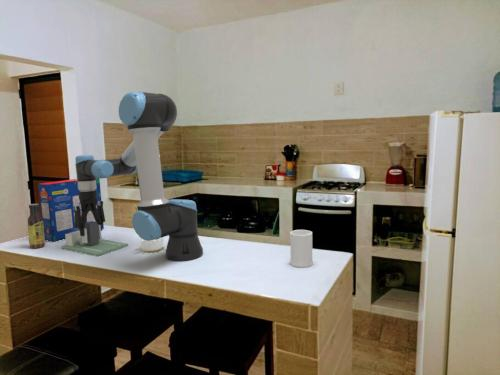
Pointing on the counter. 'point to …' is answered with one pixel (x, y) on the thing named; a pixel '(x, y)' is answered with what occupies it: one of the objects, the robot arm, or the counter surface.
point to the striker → (91, 234)
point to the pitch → (96, 249)
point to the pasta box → (61, 207)
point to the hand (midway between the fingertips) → (92, 240)
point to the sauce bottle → (35, 227)
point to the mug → (301, 248)
